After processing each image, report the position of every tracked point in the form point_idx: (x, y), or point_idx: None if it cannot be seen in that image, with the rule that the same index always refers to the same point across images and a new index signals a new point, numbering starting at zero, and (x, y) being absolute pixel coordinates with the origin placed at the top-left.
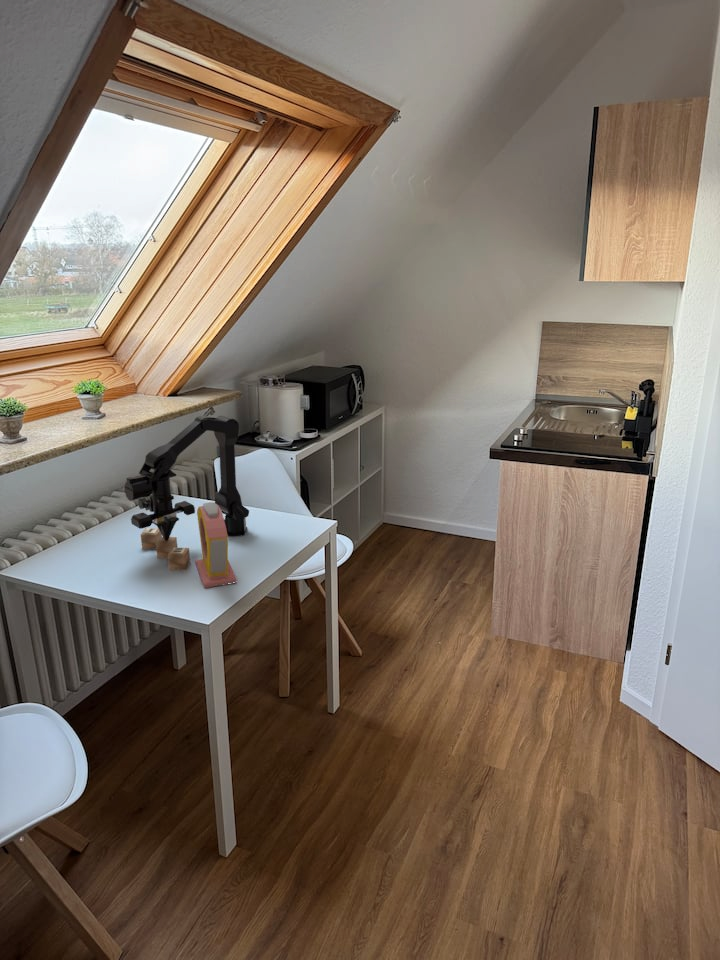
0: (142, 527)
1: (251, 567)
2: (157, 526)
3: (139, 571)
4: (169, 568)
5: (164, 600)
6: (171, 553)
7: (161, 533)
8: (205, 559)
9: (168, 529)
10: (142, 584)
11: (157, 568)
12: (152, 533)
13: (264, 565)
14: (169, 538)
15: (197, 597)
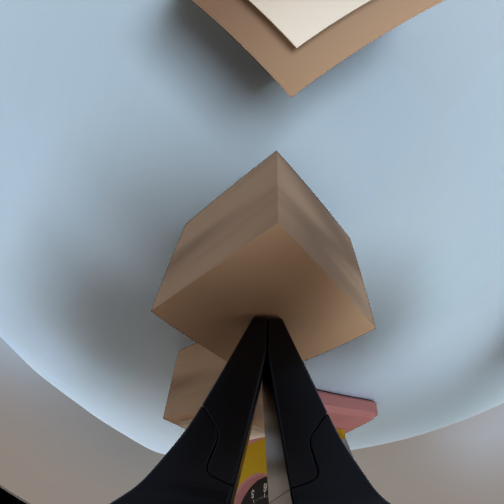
0: (3, 493)
1: (365, 433)
2: (163, 464)
3: (64, 283)
4: (179, 356)
5: (113, 412)
6: (182, 424)
7: (219, 381)
8: (253, 471)
9: (267, 464)
10: (69, 351)
11: (139, 316)
12: (268, 20)
13: (387, 434)
14: (316, 313)
15: (179, 437)
